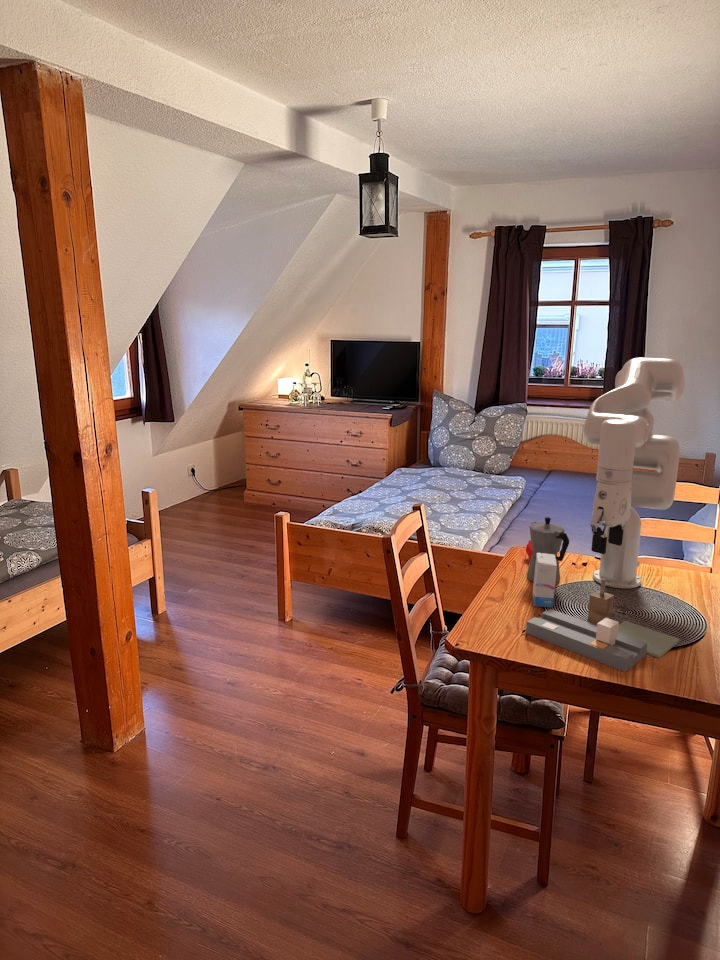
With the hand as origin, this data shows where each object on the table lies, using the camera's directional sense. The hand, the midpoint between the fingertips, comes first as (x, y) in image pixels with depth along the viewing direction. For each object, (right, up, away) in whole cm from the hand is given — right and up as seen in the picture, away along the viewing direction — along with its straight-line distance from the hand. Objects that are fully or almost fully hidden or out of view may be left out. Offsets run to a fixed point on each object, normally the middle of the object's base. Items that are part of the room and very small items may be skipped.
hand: (606, 547), depth 156 cm
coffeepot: (-5, -12, +32) cm, 35 cm away
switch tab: (-3, -20, -8) cm, 22 cm away
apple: (-4, -9, +47) cm, 48 cm away
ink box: (-10, -16, +19) cm, 26 cm away
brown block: (0, -19, +5) cm, 20 cm away
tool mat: (+7, -21, -2) cm, 22 cm away
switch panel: (-7, -21, -4) cm, 23 cm away
